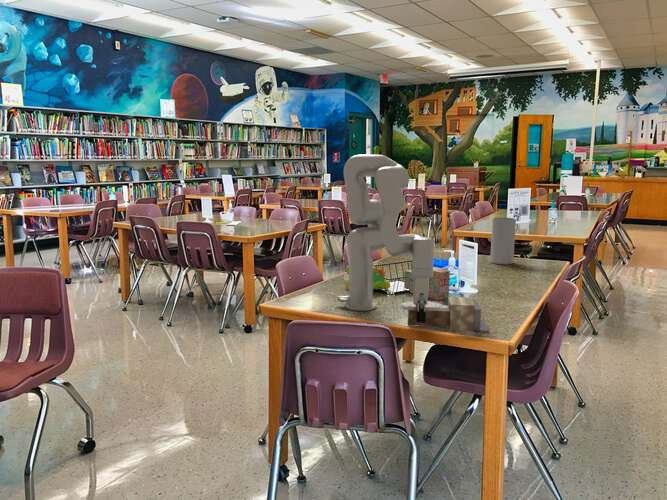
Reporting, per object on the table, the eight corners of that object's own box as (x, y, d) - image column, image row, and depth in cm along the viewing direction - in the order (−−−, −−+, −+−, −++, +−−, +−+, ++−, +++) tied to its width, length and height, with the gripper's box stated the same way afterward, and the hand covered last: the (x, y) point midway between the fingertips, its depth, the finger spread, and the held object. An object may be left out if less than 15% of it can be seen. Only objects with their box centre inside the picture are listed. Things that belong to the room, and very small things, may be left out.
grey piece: (474, 331, 201) (475, 309, 200) (469, 320, 215) (470, 299, 214) (488, 332, 201) (490, 309, 200) (483, 320, 215) (484, 299, 213)
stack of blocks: (403, 290, 261) (404, 263, 259) (413, 289, 265) (414, 262, 263) (438, 300, 244) (440, 271, 242) (449, 298, 248) (450, 270, 246)
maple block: (450, 329, 204) (451, 304, 202) (447, 320, 214) (448, 296, 213) (473, 330, 203) (474, 305, 201) (469, 321, 214) (470, 297, 212)
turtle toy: (363, 281, 278) (363, 257, 276) (395, 291, 259) (395, 265, 257) (334, 286, 269) (334, 261, 267) (365, 296, 250) (365, 269, 248)
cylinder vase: (514, 261, 333) (516, 218, 329) (512, 265, 321) (515, 220, 317) (491, 260, 337) (493, 217, 333) (489, 263, 326) (491, 219, 322)
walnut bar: (408, 326, 208) (408, 309, 207) (407, 322, 213) (408, 306, 212) (459, 328, 207) (460, 311, 206) (457, 324, 211) (458, 308, 210)
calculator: (420, 302, 242) (420, 298, 242) (459, 312, 227) (460, 308, 227) (398, 308, 234) (398, 303, 233) (437, 318, 219) (437, 313, 218)
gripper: (410, 266, 216) (409, 311, 219) (412, 276, 199) (410, 324, 202) (431, 267, 215) (429, 312, 218) (434, 277, 198) (432, 325, 201)
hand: (420, 318), depth 210 cm, fingers open, 9 cm apart
